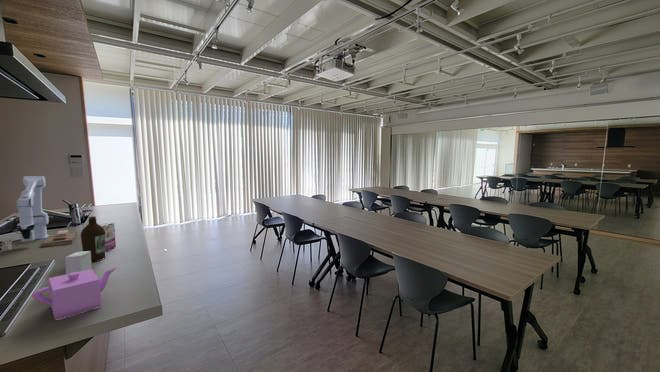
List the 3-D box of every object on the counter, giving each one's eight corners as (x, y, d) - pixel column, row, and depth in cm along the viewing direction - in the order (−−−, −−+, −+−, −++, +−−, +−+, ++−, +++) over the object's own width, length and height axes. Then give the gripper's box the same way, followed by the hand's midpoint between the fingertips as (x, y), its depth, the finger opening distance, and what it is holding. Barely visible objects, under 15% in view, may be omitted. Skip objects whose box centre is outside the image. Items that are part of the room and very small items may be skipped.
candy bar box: (108, 247, 178) (107, 222, 176) (116, 247, 178) (114, 222, 176) (93, 252, 167) (91, 226, 165) (101, 253, 167) (100, 227, 165)
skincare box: (81, 288, 123) (79, 256, 121) (66, 289, 122) (63, 257, 120) (93, 280, 131) (91, 250, 130) (78, 281, 130) (76, 250, 128)
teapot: (123, 300, 113) (121, 268, 112) (35, 328, 94) (32, 289, 93) (113, 289, 123) (112, 259, 122) (32, 311, 104) (29, 276, 103)
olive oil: (77, 262, 151) (74, 218, 149) (92, 255, 162) (90, 214, 159) (96, 263, 151) (94, 219, 149) (111, 256, 162) (109, 215, 160)
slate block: (23, 239, 174) (22, 230, 173) (34, 238, 177) (34, 229, 176) (21, 241, 170) (20, 232, 169) (32, 240, 173) (32, 231, 172)
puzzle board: (50, 237, 193) (49, 231, 193) (76, 235, 202) (76, 229, 201) (42, 247, 174) (42, 240, 174) (72, 243, 183) (71, 237, 182)
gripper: (20, 215, 175) (21, 235, 177) (13, 219, 164) (15, 241, 165) (36, 214, 179) (37, 234, 181) (30, 218, 168) (31, 239, 169)
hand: (27, 237), depth 173 cm, fingers closed on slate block, 5 cm apart
